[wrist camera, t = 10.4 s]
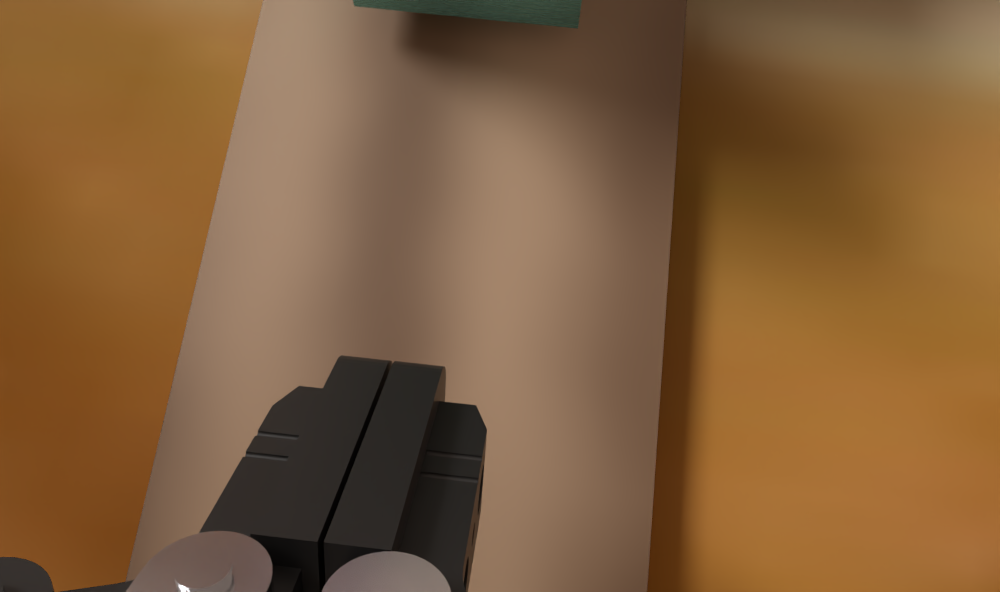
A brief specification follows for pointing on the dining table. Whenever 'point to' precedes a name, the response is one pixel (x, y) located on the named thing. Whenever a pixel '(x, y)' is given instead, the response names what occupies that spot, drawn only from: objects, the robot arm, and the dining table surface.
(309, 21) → the rail board
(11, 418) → the dining table surface
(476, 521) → the robot arm
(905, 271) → the dining table surface
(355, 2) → the slip tube
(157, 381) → the dining table surface
